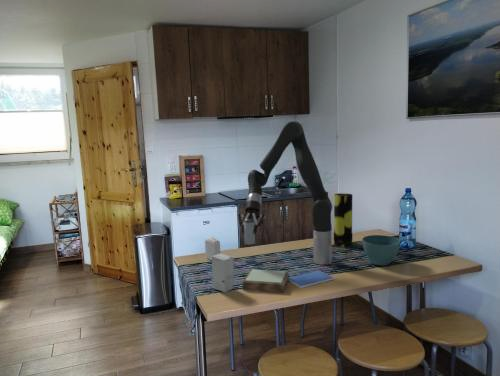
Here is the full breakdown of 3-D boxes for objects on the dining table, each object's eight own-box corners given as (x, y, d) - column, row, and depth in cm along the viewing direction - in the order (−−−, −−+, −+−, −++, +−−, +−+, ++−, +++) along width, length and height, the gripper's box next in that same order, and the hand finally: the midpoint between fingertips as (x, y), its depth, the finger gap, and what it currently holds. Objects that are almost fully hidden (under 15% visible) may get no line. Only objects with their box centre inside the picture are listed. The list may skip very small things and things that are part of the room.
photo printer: (204, 258, 223) (203, 236, 221) (211, 256, 226) (210, 235, 224) (215, 262, 215) (214, 240, 214) (221, 261, 218) (221, 238, 216)
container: (355, 244, 242) (356, 194, 237) (346, 248, 234) (347, 196, 229) (339, 241, 249) (339, 192, 245) (330, 245, 241) (330, 195, 237)
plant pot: (405, 262, 209) (406, 238, 207) (389, 271, 196) (390, 247, 194) (372, 255, 221) (372, 233, 219) (355, 264, 208) (355, 240, 206)
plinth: (288, 278, 190) (288, 270, 190) (283, 292, 175) (283, 283, 174) (251, 276, 195) (250, 268, 194) (242, 289, 179) (242, 280, 179)
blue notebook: (300, 289, 179) (300, 286, 179) (285, 280, 190) (285, 277, 190) (335, 280, 188) (335, 277, 188) (318, 272, 199) (318, 269, 199)
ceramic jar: (255, 241, 201) (255, 218, 200) (253, 244, 197) (252, 220, 195) (246, 241, 203) (245, 217, 201) (243, 244, 198) (242, 220, 196)
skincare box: (211, 288, 182) (210, 256, 179) (221, 284, 186) (219, 252, 184) (225, 292, 176) (224, 259, 174) (234, 288, 181) (233, 256, 179)
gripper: (238, 199, 207) (233, 228, 197) (266, 199, 203) (262, 229, 193) (241, 207, 212) (236, 236, 203) (268, 208, 209) (264, 237, 199)
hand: (249, 232), depth 198 cm, fingers closed on ceramic jar, 5 cm apart
